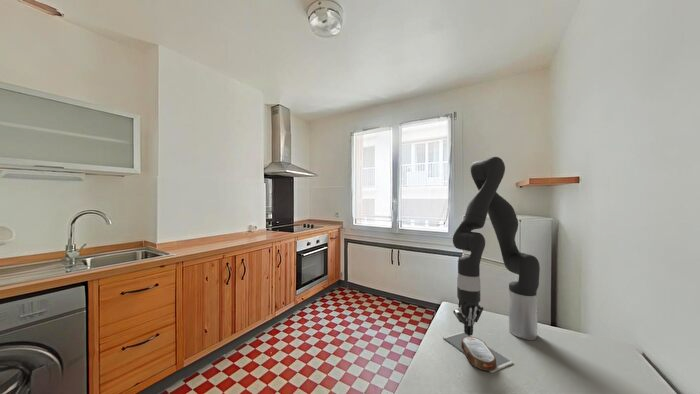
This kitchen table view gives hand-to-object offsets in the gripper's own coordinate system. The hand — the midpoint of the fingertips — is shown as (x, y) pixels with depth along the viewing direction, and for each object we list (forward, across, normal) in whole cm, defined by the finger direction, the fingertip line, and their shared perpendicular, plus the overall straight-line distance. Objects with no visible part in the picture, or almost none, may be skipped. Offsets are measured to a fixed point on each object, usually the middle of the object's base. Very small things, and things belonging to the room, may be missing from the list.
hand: (468, 334), depth 84 cm
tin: (+4, +3, +1) cm, 5 cm away
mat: (+6, -4, 0) cm, 7 cm away
